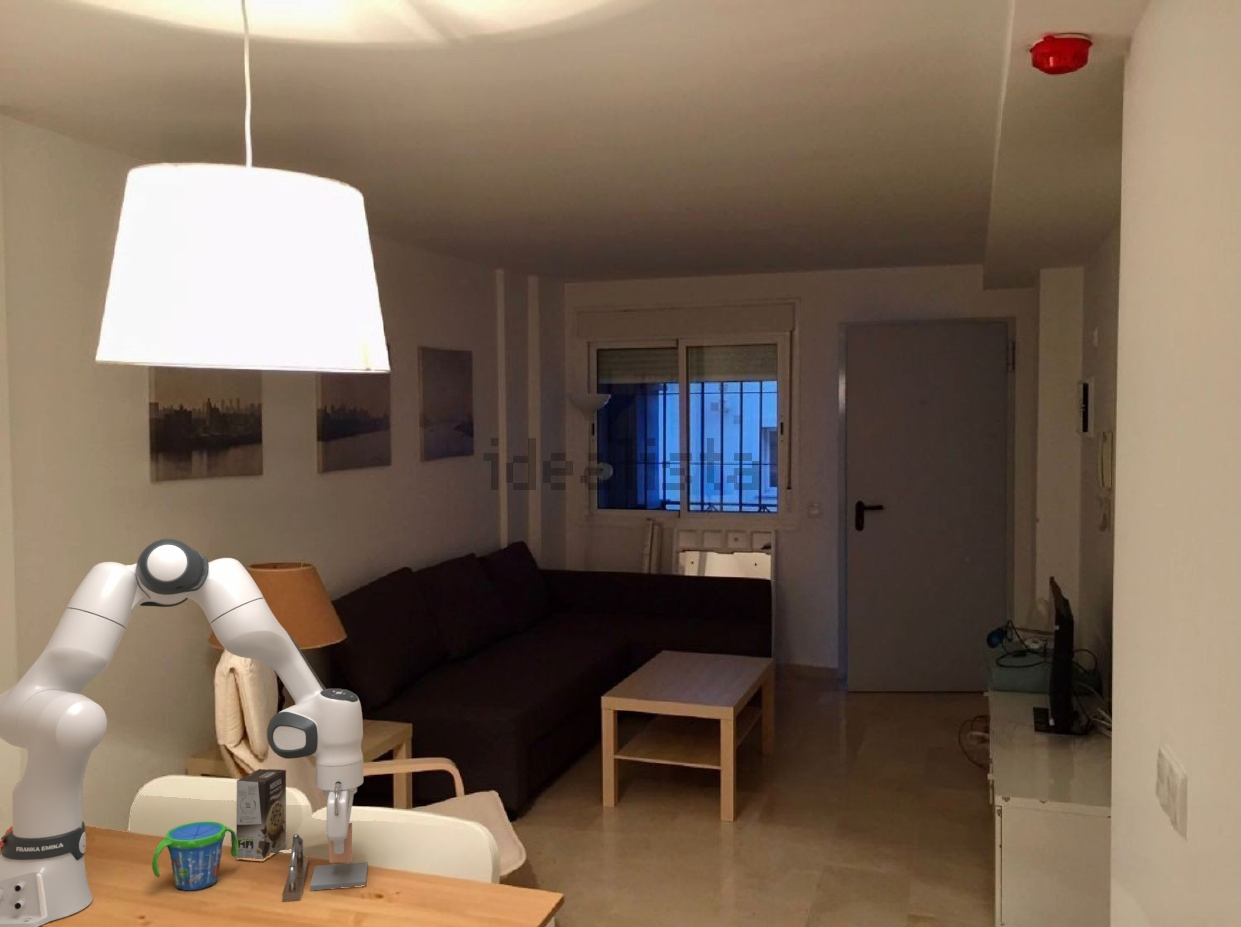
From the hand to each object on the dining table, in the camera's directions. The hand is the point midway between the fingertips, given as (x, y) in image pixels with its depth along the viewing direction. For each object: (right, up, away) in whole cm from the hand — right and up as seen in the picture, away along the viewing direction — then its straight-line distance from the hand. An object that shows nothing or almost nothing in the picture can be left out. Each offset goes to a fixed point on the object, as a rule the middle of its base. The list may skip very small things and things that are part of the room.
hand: (340, 847), depth 205 cm
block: (0, -2, 0) cm, 2 cm away
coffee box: (-19, -6, +13) cm, 24 cm away
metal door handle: (-8, -6, -2) cm, 10 cm away
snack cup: (-27, -6, -3) cm, 27 cm away
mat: (0, -6, 0) cm, 6 cm away
